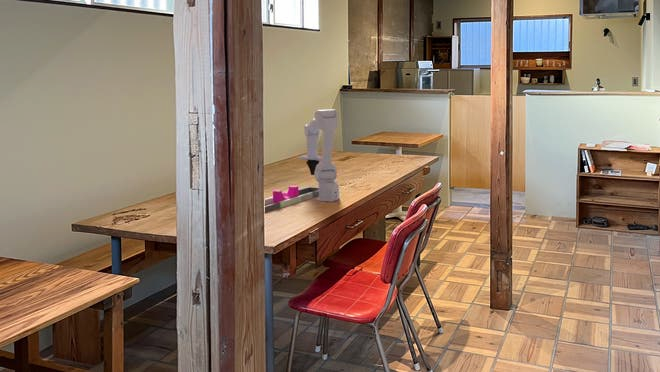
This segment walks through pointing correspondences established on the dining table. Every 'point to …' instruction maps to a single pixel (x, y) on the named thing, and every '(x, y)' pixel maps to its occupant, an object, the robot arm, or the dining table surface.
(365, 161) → the dining table surface
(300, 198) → the long grey tray strip
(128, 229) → the dining table surface
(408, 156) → the dining table surface
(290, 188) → the toy block
